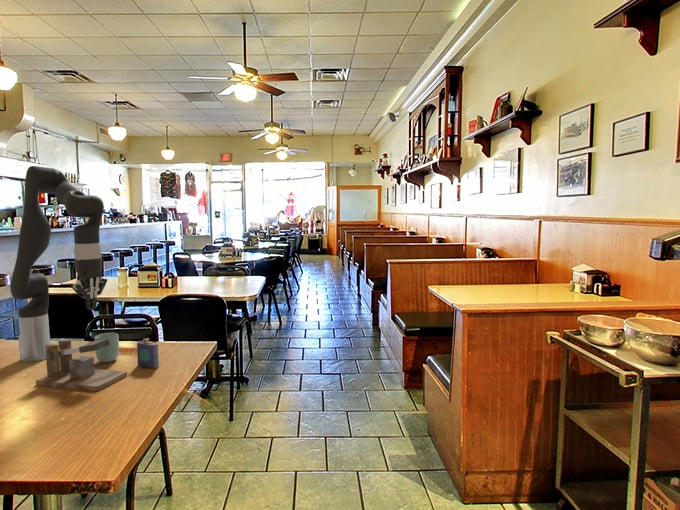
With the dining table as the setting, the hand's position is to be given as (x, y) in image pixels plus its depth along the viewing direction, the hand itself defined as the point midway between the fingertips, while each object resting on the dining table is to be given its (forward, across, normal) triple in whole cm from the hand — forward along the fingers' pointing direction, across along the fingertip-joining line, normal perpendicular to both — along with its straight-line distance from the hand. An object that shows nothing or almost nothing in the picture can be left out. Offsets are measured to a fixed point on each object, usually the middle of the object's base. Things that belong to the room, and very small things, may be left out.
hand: (91, 309), depth 138 cm
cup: (+25, -18, -11) cm, 33 cm away
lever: (+15, 0, -6) cm, 16 cm away
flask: (+25, -16, +8) cm, 31 cm away
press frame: (+25, 0, -5) cm, 25 cm away
